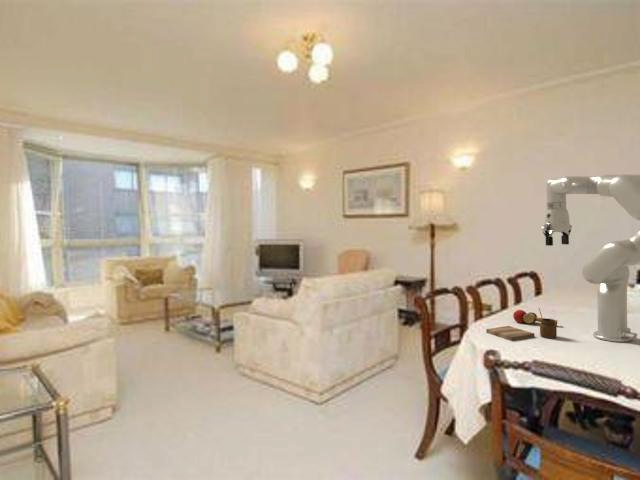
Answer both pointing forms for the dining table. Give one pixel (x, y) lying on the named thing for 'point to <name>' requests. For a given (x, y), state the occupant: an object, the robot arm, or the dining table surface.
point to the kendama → (527, 317)
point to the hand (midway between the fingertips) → (557, 244)
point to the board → (510, 333)
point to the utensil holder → (548, 327)
